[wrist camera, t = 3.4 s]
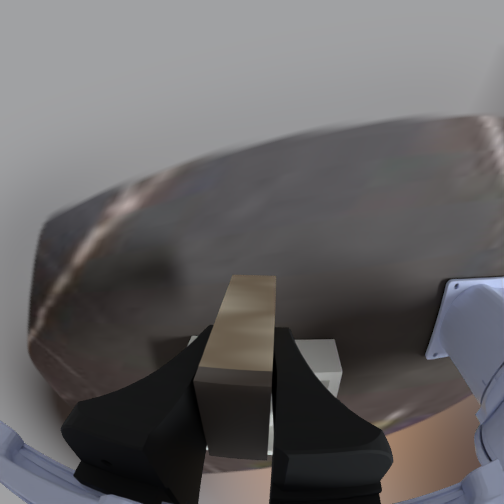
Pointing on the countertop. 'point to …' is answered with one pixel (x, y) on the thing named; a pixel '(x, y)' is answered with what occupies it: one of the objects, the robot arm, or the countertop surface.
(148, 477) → the robot arm
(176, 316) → the countertop surface
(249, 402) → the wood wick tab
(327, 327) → the countertop surface
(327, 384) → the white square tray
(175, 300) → the countertop surface
